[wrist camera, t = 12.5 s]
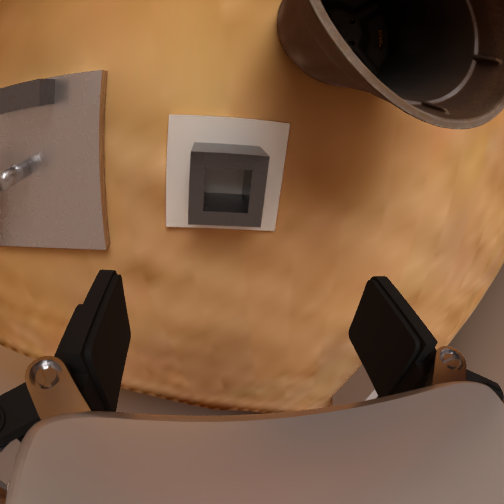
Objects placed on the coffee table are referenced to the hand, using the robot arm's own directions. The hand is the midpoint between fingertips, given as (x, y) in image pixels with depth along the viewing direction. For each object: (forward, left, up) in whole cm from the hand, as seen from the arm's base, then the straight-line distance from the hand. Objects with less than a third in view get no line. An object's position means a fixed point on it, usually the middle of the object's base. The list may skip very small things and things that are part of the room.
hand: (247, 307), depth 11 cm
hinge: (+31, +25, -21) cm, 45 cm away
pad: (0, 0, -20) cm, 20 cm away
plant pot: (-16, +9, -20) cm, 27 cm away
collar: (0, 0, -19) cm, 19 cm away
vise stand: (-1, -21, -20) cm, 29 cm away
